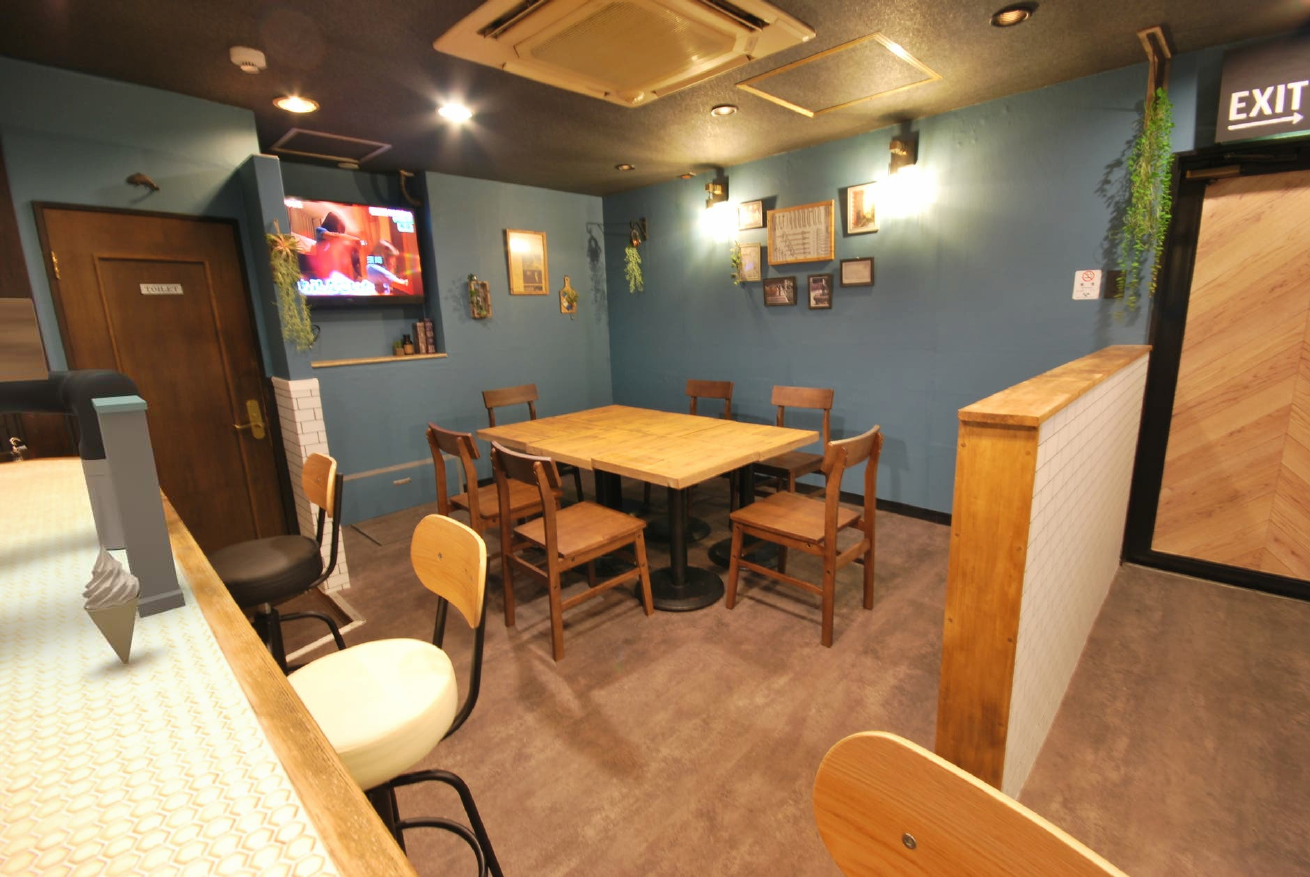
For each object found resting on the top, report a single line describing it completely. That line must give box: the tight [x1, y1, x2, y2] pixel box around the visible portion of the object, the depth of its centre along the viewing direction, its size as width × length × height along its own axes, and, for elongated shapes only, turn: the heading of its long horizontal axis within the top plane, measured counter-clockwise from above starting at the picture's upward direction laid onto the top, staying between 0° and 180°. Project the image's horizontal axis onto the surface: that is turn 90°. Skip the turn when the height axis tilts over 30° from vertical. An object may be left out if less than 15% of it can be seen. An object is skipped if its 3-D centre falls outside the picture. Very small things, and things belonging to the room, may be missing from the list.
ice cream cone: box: [81, 545, 140, 664], centre depth 69 cm, size 5×5×15 cm
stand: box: [92, 396, 186, 619], centre depth 85 cm, size 14×5×30 cm, turn 46°
